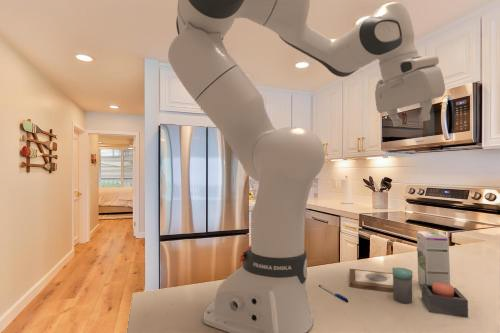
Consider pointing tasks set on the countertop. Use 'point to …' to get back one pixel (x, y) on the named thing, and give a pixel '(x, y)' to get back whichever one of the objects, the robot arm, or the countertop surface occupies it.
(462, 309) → the button housing
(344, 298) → the ballpoint pen
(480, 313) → the countertop surface
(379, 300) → the countertop surface
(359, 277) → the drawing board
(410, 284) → the grey and teal cylinder
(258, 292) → the robot arm
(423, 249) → the syrup box
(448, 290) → the button
